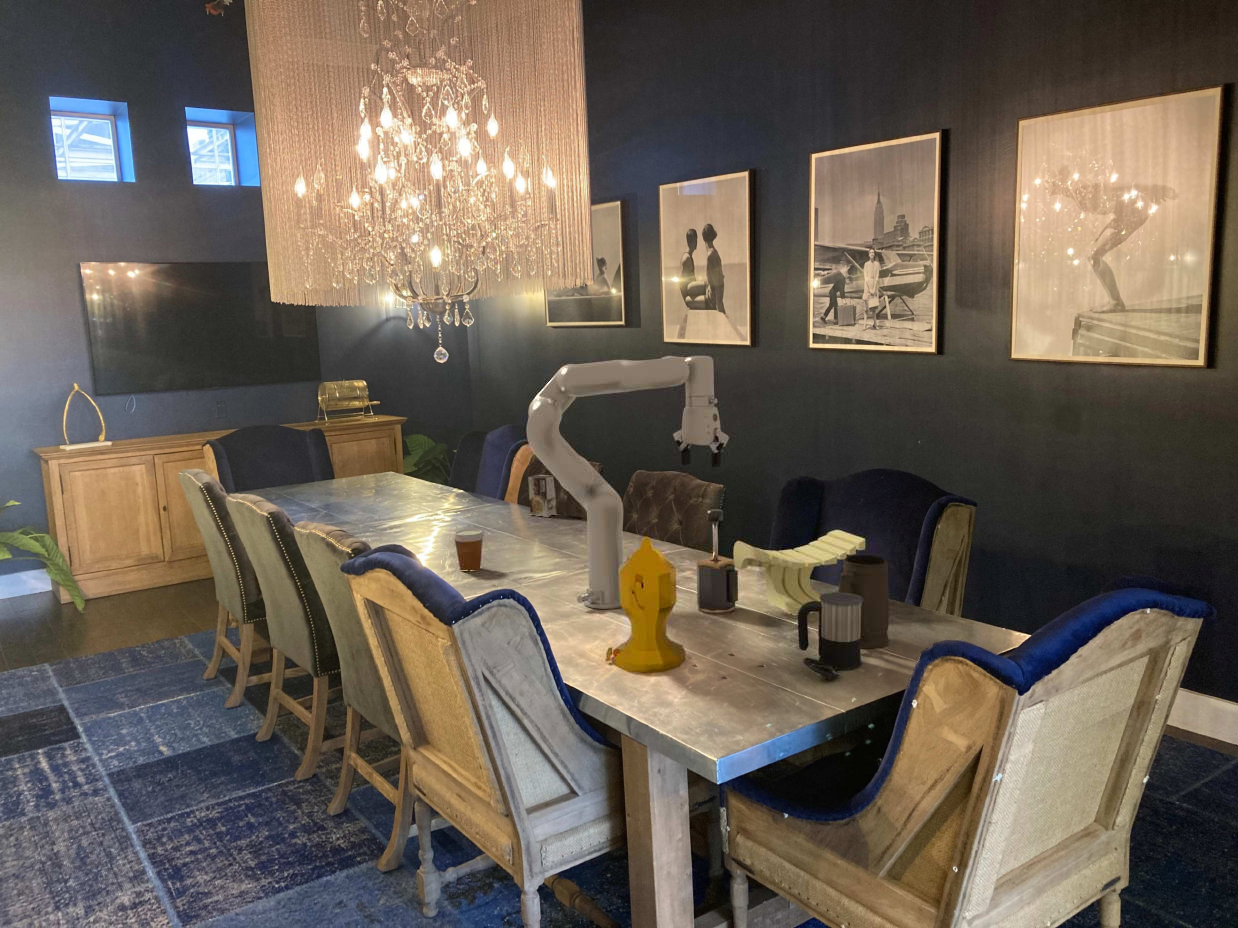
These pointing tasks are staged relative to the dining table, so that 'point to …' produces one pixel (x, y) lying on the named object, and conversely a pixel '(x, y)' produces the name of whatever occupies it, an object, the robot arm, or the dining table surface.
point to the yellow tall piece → (647, 612)
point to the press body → (716, 586)
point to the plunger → (715, 529)
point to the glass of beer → (469, 548)
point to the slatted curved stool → (796, 566)
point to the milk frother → (833, 632)
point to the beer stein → (869, 596)
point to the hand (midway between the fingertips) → (701, 465)
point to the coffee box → (542, 495)
